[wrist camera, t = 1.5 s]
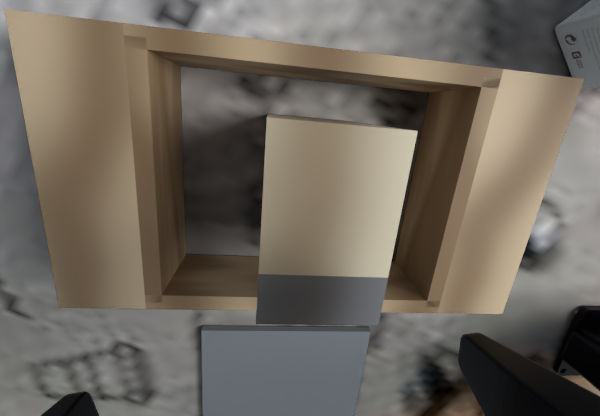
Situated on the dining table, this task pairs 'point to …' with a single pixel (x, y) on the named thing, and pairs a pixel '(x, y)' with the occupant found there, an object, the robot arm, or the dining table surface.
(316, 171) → the box
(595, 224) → the dining table surface
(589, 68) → the skincare box
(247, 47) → the wooden tray
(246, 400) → the mat
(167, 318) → the dining table surface
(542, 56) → the dining table surface
